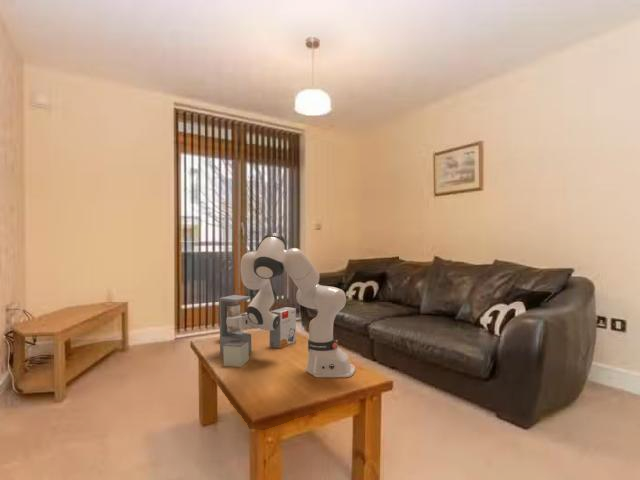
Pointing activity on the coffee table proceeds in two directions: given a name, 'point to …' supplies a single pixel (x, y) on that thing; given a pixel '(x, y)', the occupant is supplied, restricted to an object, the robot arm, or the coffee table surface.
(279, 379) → the coffee table surface
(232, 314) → the block
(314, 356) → the robot arm
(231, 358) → the stand
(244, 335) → the grey podium
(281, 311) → the hard drive box
